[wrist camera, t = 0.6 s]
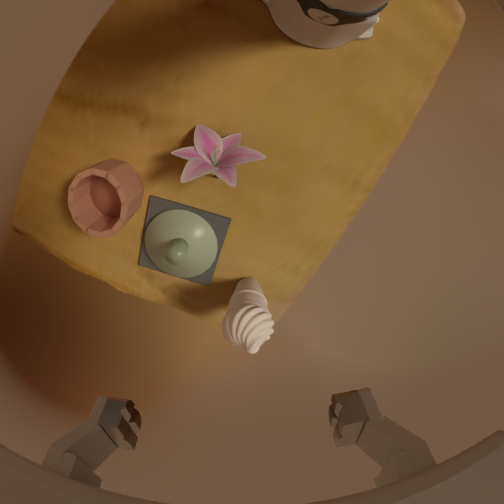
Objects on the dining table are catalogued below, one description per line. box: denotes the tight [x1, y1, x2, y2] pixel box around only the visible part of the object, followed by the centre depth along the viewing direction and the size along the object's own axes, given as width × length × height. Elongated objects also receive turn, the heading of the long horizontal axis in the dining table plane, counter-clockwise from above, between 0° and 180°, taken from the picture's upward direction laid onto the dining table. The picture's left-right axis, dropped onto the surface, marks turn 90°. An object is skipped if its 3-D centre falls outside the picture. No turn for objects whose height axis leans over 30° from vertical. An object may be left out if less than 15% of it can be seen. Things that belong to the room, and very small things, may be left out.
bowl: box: [68, 159, 144, 238], centre depth 40 cm, size 11×11×7 cm
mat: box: [139, 195, 231, 286], centre depth 48 cm, size 14×14×1 cm
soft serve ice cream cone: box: [222, 278, 274, 354], centre depth 46 cm, size 8×8×16 cm
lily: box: [171, 125, 266, 187], centre depth 38 cm, size 12×12×10 cm
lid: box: [145, 209, 218, 278], centre depth 46 cm, size 13×13×5 cm
